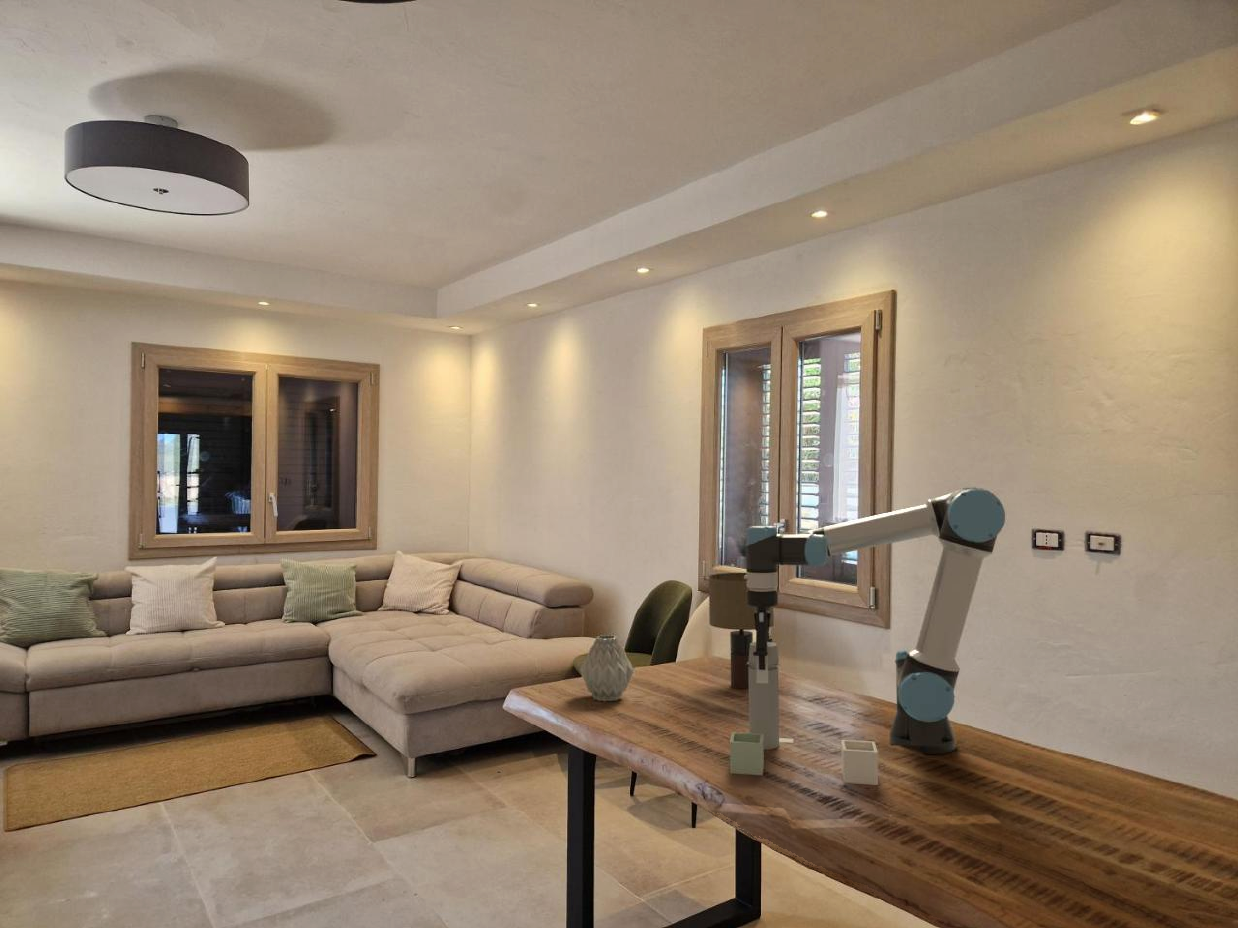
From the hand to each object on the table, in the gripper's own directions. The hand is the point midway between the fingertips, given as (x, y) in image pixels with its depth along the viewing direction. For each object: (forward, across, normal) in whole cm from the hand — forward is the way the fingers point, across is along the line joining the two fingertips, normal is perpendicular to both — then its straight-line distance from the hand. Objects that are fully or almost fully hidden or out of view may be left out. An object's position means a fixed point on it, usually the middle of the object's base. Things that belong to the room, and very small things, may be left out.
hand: (763, 676), depth 196 cm
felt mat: (+17, 0, 0) cm, 18 cm away
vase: (+17, -37, -48) cm, 63 cm away
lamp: (+18, -58, -9) cm, 61 cm away
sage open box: (+17, +18, -3) cm, 25 cm away
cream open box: (+18, +19, +21) cm, 33 cm away
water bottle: (+17, 0, 0) cm, 17 cm away
